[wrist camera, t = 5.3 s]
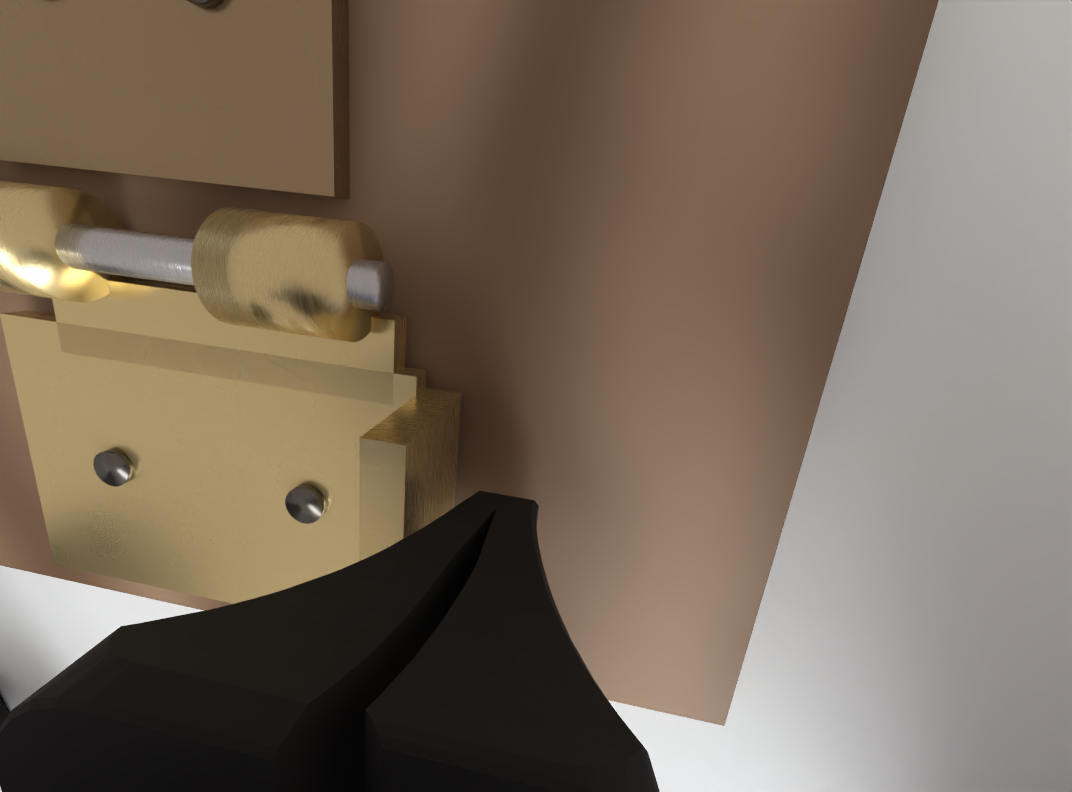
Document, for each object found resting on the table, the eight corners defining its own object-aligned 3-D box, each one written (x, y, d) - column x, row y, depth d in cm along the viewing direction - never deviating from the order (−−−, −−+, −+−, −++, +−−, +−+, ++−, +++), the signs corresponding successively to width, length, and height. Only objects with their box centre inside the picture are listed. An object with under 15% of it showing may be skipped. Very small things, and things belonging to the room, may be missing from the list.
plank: (1015, -345, 7) (1059, -412, 7) (718, 698, 14) (724, 725, 13) (-318, -315, 10) (-393, -359, 10) (-67, 529, 17) (-100, 542, 16)
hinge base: (-96, 272, 13) (-283, 280, 10) (-237, -253, 10) (-556, -437, 7) (350, 337, 11) (267, 366, 9) (347, -257, 8) (219, -488, 6)
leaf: (-44, 525, 15) (-202, 593, 12) (-146, 162, 12) (-390, 137, 9) (446, 630, 13) (397, 739, 10) (472, 234, 10) (413, 230, 7)
